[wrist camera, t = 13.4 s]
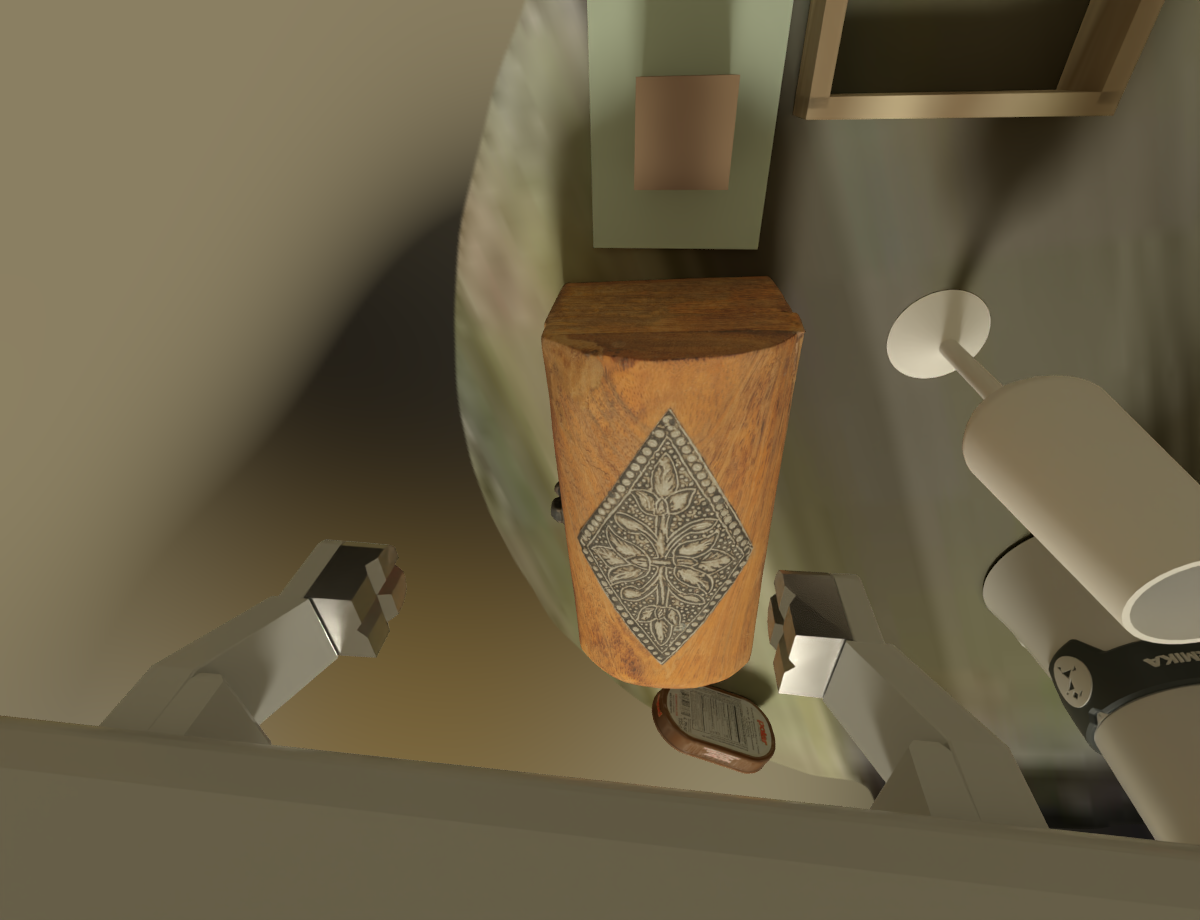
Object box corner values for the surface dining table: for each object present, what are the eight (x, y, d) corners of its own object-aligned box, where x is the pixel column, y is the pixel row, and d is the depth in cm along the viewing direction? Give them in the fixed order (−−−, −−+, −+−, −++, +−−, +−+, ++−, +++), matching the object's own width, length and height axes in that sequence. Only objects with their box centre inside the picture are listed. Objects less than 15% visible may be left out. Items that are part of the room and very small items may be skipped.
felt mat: (796, -32, 28) (798, -34, 28) (756, 246, 36) (757, 249, 36) (588, -23, 29) (586, -25, 29) (594, 245, 38) (593, 247, 37)
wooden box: (550, 276, 39) (500, 357, 28) (784, 271, 37) (831, 356, 26) (581, 565, 57) (558, 686, 46) (742, 572, 55) (759, 701, 44)
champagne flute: (1009, 335, 38) (1358, 609, 19) (919, 395, 41) (1134, 680, 22) (958, 268, 36) (1292, 499, 17) (867, 337, 39) (1055, 597, 20)
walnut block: (729, 74, 31) (740, 74, 26) (720, 172, 34) (728, 189, 29) (641, 76, 31) (635, 77, 26) (639, 173, 34) (634, 190, 29)
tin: (651, 678, 67) (649, 747, 60) (662, 665, 65) (661, 734, 58) (760, 714, 69) (769, 784, 62) (773, 702, 67) (784, 773, 60)
